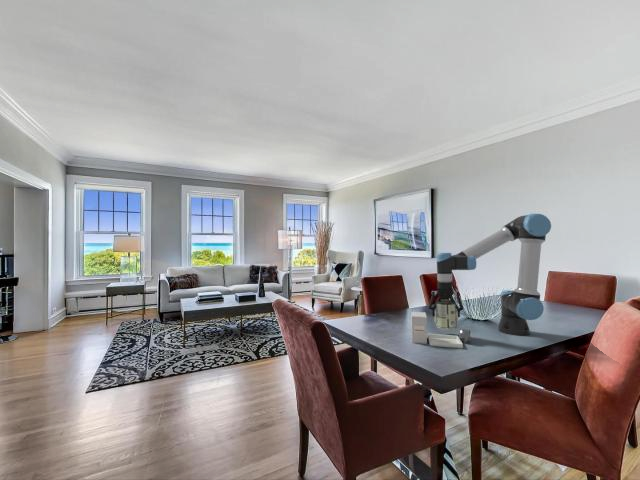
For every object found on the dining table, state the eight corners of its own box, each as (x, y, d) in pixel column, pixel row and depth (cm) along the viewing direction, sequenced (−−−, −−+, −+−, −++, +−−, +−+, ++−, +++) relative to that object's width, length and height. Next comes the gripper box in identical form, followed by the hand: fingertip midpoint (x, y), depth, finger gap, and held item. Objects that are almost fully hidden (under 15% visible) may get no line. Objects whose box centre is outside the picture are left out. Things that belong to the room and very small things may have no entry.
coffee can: (440, 323, 176) (439, 298, 176) (459, 326, 169) (458, 300, 169) (432, 327, 168) (432, 301, 169) (452, 330, 161) (451, 303, 162)
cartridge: (469, 341, 158) (469, 329, 158) (471, 344, 153) (471, 332, 153) (458, 340, 159) (458, 328, 160) (460, 343, 155) (460, 331, 155)
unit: (425, 337, 165) (425, 312, 165) (426, 344, 154) (426, 317, 154) (411, 336, 167) (411, 311, 167) (411, 342, 155) (411, 316, 156)
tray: (457, 339, 161) (457, 335, 161) (462, 348, 147) (462, 344, 147) (427, 337, 165) (427, 333, 165) (429, 346, 150) (429, 341, 150)
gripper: (466, 280, 170) (467, 321, 169) (422, 280, 176) (423, 320, 175) (469, 282, 163) (470, 325, 162) (423, 282, 168) (424, 323, 168)
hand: (446, 322), depth 169 cm, fingers closed on coffee can, 10 cm apart
